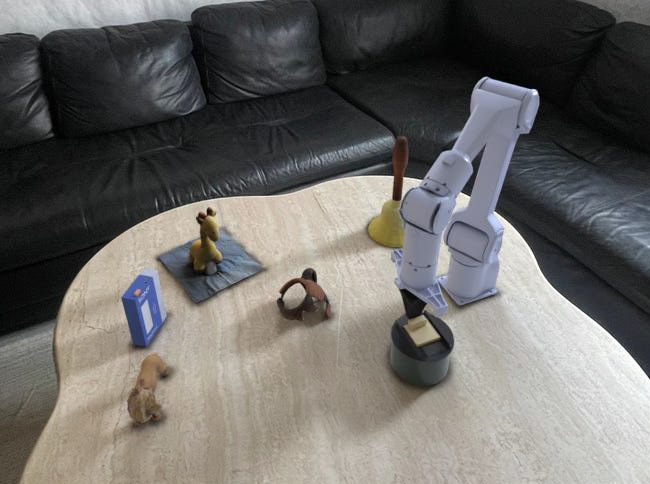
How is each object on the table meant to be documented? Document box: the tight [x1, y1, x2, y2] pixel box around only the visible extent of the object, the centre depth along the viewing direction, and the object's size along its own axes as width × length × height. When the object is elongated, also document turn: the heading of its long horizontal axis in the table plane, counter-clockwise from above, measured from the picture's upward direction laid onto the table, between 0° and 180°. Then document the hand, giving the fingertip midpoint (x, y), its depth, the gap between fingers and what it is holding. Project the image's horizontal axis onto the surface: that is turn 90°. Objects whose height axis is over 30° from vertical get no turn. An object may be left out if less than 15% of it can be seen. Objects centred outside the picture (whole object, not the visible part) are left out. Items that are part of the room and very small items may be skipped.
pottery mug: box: [276, 267, 332, 323], centre depth 100 cm, size 12×10×8 cm
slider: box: [403, 315, 440, 347], centre depth 87 cm, size 4×5×2 cm
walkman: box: [120, 267, 168, 348], centre depth 94 cm, size 8×3×12 cm, turn 166°
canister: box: [389, 309, 455, 387], centre depth 88 cm, size 11×11×8 cm
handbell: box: [367, 135, 410, 248], centre depth 116 cm, size 12×12×25 cm
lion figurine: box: [126, 352, 170, 427], centre depth 81 cm, size 15×5×9 cm, turn 13°
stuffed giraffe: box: [157, 206, 264, 304], centre depth 109 cm, size 16×18×16 cm
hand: (412, 316), depth 89 cm, fingers closed
